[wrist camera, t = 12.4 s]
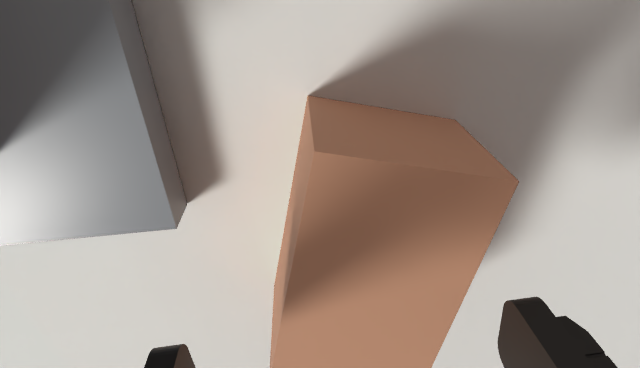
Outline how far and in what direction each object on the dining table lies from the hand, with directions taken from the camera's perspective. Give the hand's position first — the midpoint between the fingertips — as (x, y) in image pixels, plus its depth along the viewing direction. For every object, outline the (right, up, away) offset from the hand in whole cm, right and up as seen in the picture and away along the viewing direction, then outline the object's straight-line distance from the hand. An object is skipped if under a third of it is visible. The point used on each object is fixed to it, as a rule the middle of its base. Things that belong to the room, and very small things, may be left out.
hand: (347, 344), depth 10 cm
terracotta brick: (+1, +3, +5) cm, 6 cm away
